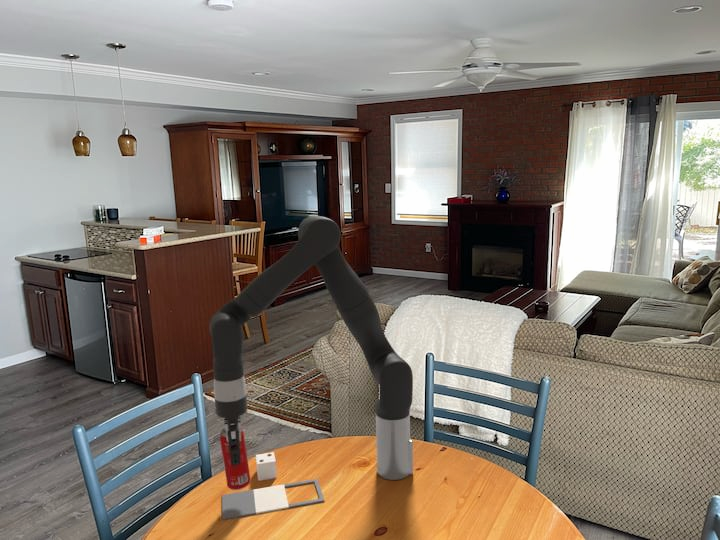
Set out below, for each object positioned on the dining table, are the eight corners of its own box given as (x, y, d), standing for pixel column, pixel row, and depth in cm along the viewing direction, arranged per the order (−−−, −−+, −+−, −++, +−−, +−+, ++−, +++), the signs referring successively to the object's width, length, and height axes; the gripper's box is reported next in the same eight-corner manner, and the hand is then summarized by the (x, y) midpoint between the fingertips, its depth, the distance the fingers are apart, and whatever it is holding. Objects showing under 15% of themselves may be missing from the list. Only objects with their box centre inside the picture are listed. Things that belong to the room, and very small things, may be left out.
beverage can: (255, 480, 135) (250, 425, 132) (239, 495, 129) (234, 437, 126) (236, 476, 137) (231, 421, 134) (219, 489, 131) (214, 433, 129)
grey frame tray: (317, 480, 144) (317, 478, 144) (324, 501, 134) (324, 500, 134) (222, 496, 138) (222, 494, 137) (222, 520, 128) (222, 518, 128)
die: (274, 468, 150) (273, 451, 149) (276, 477, 145) (275, 460, 144) (256, 471, 149) (255, 454, 148) (258, 481, 144) (257, 463, 143)
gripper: (247, 404, 122) (252, 470, 126) (244, 381, 136) (249, 441, 139) (214, 408, 121) (219, 476, 124) (214, 384, 134) (219, 446, 137)
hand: (235, 457), depth 131 cm, fingers closed on beverage can, 5 cm apart
